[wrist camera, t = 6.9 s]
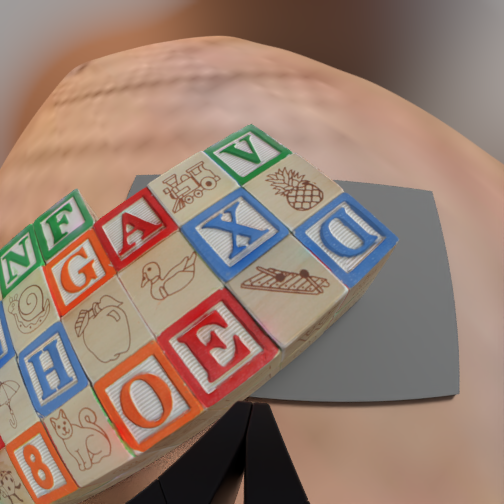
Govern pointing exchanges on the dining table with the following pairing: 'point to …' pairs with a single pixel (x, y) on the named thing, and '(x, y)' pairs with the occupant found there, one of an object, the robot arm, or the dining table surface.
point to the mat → (383, 316)
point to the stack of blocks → (167, 310)
